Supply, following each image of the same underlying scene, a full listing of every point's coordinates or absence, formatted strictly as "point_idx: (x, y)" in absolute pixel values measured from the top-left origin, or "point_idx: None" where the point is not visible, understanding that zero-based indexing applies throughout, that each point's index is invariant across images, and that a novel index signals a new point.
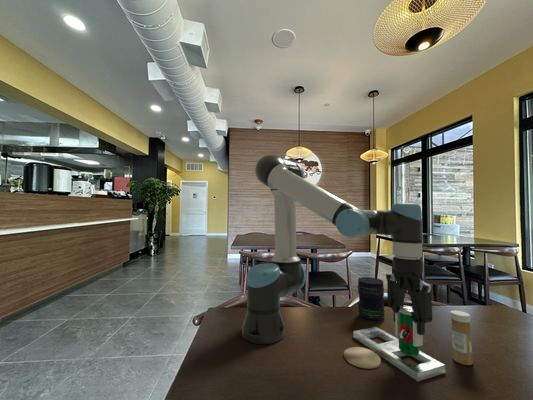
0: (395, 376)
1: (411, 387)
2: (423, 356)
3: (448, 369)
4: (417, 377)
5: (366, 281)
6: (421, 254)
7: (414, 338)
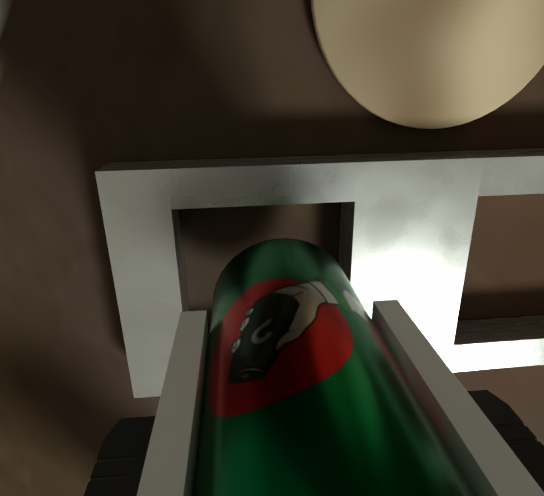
0: (189, 63)
1: (68, 71)
2: None
3: None
4: (104, 166)
5: None
6: None
7: (183, 353)
